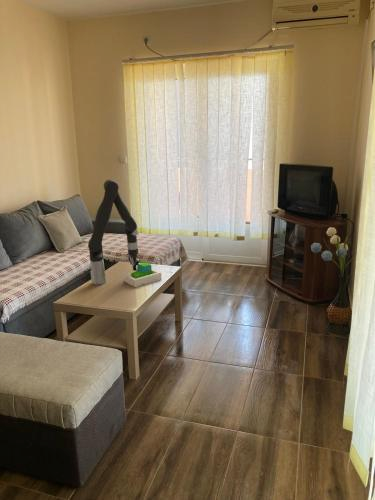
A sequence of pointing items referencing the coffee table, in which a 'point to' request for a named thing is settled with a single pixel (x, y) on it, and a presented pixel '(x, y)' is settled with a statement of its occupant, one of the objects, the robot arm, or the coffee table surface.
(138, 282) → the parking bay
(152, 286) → the coffee table surface
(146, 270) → the toy car
